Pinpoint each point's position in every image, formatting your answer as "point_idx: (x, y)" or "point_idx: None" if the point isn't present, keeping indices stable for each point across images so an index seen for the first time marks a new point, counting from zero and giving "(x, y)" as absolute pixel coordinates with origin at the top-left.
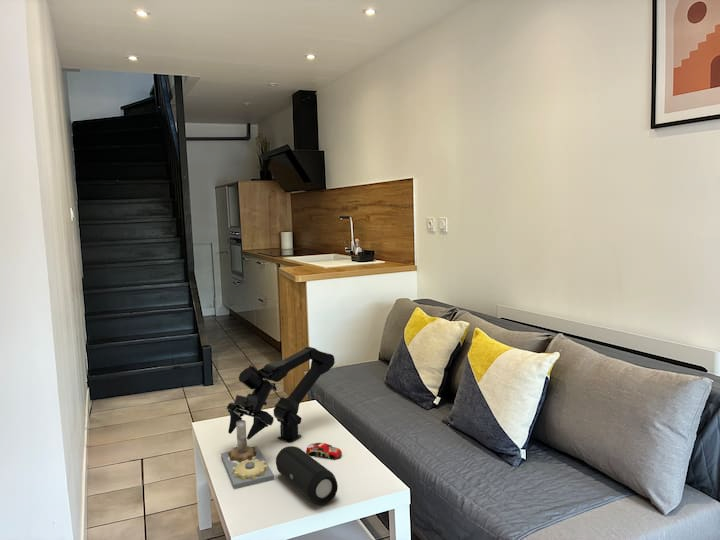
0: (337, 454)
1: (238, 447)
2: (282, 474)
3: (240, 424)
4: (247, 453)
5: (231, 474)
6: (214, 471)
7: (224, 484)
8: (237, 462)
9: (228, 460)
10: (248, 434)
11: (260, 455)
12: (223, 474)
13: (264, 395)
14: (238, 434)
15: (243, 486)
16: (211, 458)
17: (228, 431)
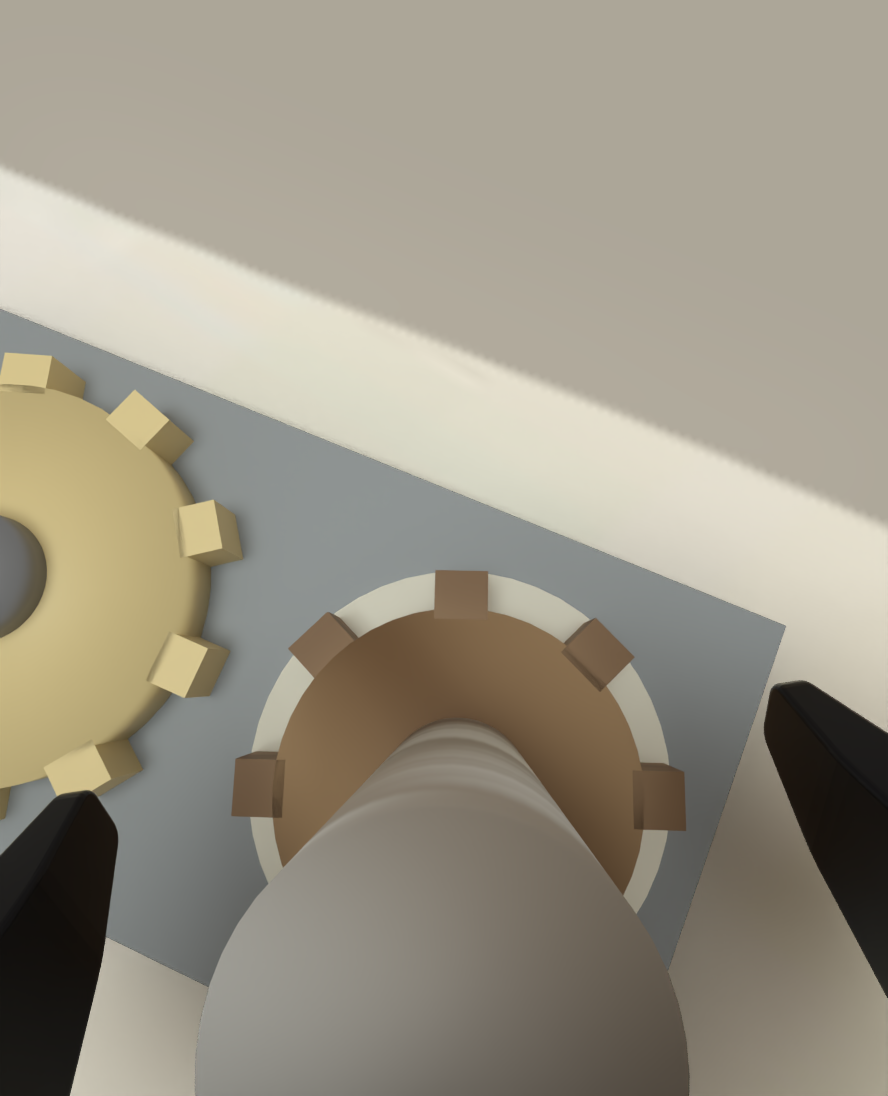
0: None
1: (451, 724)
2: None
3: (270, 889)
4: (336, 806)
5: (162, 394)
6: (490, 379)
7: (151, 300)
8: (347, 612)
9: (510, 575)
10: (17, 872)
11: None
12: (345, 408)
13: None
14: (414, 756)
15: None
16: (829, 531)
17: (816, 691)
